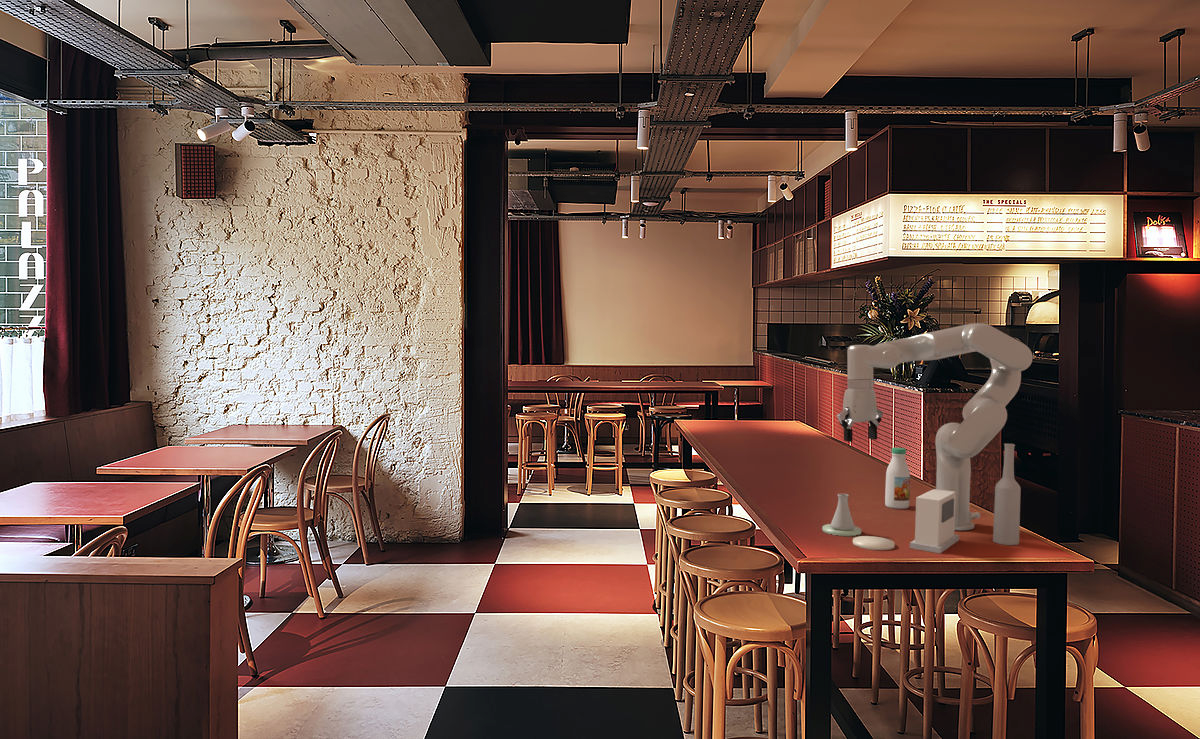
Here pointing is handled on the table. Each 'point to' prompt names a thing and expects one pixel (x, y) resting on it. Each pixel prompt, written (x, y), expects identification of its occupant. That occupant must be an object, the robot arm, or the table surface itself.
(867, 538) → the cream pad
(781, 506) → the table surface
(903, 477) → the milk bottle
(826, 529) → the green pad
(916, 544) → the control unit
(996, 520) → the bottle
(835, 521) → the flask
